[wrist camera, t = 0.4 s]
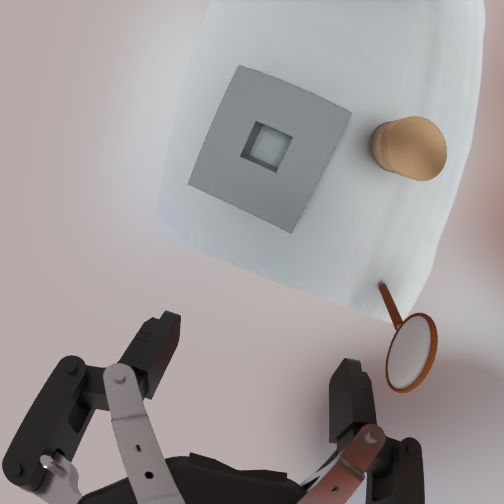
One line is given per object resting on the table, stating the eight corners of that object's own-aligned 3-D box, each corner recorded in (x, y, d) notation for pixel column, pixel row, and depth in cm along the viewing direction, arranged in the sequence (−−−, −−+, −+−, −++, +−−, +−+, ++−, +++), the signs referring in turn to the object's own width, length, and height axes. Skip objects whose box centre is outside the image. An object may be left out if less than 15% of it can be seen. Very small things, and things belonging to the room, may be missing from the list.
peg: (372, 116, 30) (405, 103, 18) (409, 139, 30) (455, 140, 18) (354, 154, 33) (379, 159, 21) (391, 176, 33) (431, 193, 21)
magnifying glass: (388, 256, 37) (440, 346, 18) (398, 260, 37) (452, 349, 18) (363, 305, 40) (388, 408, 22) (373, 308, 40) (400, 410, 22)
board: (247, 74, 31) (238, 64, 27) (346, 117, 31) (352, 113, 27) (201, 179, 38) (187, 184, 33) (293, 222, 38) (291, 233, 33)
